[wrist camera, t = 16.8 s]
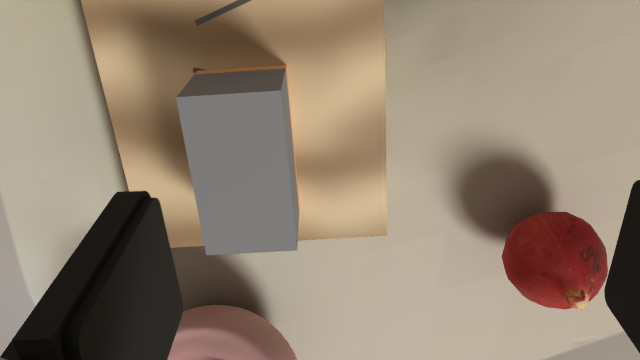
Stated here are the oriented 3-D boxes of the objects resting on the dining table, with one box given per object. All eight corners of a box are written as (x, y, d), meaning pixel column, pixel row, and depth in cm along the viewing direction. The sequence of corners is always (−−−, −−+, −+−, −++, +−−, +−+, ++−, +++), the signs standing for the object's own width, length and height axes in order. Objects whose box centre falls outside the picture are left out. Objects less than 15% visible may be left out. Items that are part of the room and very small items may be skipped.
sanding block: (197, 70, 29) (175, 97, 25) (286, 64, 29) (280, 90, 25) (221, 210, 33) (206, 255, 29) (299, 205, 33) (296, 250, 29)
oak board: (21, -290, 24) (4, -303, 22) (376, -320, 23) (380, -335, 22) (150, 237, 36) (143, 249, 35) (384, 223, 36) (386, 235, 34)
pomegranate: (547, 173, 34) (609, 240, 27) (590, 230, 36) (658, 308, 29) (472, 224, 36) (511, 300, 28) (516, 276, 38) (564, 360, 30)
